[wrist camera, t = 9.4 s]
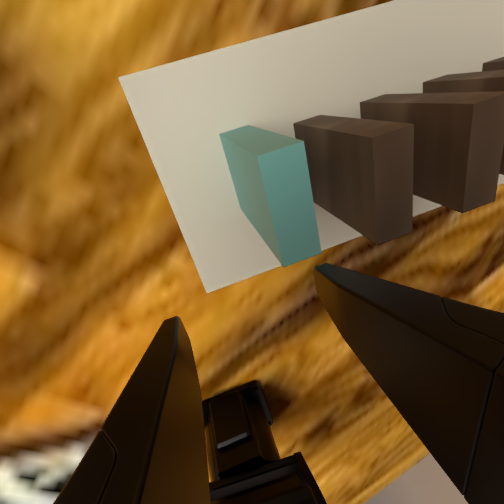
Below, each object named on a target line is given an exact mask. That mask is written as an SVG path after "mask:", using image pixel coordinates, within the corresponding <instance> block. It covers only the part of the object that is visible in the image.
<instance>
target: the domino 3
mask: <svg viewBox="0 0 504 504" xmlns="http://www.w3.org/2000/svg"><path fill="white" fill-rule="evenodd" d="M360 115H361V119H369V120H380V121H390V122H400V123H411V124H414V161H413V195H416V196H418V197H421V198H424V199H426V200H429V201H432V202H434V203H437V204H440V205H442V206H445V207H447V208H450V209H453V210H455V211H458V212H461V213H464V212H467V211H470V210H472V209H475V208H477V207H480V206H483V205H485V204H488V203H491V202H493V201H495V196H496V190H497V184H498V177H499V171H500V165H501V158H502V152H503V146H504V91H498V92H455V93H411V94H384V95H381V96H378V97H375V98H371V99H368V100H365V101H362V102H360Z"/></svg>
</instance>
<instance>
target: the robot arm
mask: <svg viewBox="0 0 504 504" xmlns="http://www.w3.org/2000/svg"><path fill="white" fill-rule="evenodd" d="M313 272H314V279H315V286H316V291H317V294H318V296H319V298H320V300H321V301H322V303H323V305H324V307H325V308H326V310H327V312H328V313H329V315H330V317H331V318H332V320H333V322H334V324H335V325H336V327H337V329H338V330H339V332H340V334H341V335H342V337H343V338H344V340H345V341H346V342H347V344H348V345H349V346H350V348H351V349H352V350H353V352H354V353H355V354H356V356H357V357H358V358H359V360H360V361H361V362H362V364H363V365H364V366H365V367H366V369H367V370H368V371H369V373H370V374H371V375H372V377H373V378H374V379H375V381H376V382H377V383H378V385H379V386H380V387H381V389H382V390H383V391H384V393H385V394H386V395H387V396H388V398H389V399H390V400H391V402H392V403H393V404H394V406H395V407H396V408H397V410H398V411H399V412H400V414H401V415H402V416H403V418H404V419H405V420H406V421H407V423H408V424H409V425H410V427H411V428H412V429H413V431H414V432H415V433H416V435H417V436H418V437H419V439H420V440H421V441H422V443H423V444H424V445H425V446H426V448H427V449H428V450H429V452H430V453H431V454H432V456H433V457H434V458H435V460H436V461H437V462H438V464H439V465H440V466H441V468H442V469H443V470H444V471H445V473H446V474H447V475H448V477H449V478H450V479H451V481H452V482H453V483H454V485H455V486H456V487H457V489H458V490H459V491H460V493H461V494H462V495H464V498H465V499H466V501H467V502H468V503H469V504H504V313H501V312H497V311H493V310H489V309H485V308H481V307H477V306H473V305H470V304H466V303H462V302H459V301H455V300H452V299H449V298H445V297H442V298H441V297H440V296H438V295H435V294H431V293H428V292H424V291H421V290H417V289H414V288H411V287H407V286H404V285H400V284H397V283H393V282H390V281H387V280H383V279H380V278H376V277H373V276H369V275H366V274H363V273H359V272H356V271H352V270H349V269H345V268H342V267H339V266H335V265H332V264H328V263H325V264H322V265H319V266H316V267H315V268H314V270H313ZM272 423H273V420H272V417H271V414H270V412H269V409H268V406H267V404H266V401H265V398H264V396H263V393H262V390H261V388H260V385H259V383H258V382H257V381H253V382H251V383H248V384H246V385H243V386H241V387H239V388H236V389H234V390H231V391H229V392H226V393H224V394H222V395H219V396H217V397H214V398H212V399H209V400H207V401H205V402H202V397H201V390H200V384H199V379H198V375H197V370H196V365H195V361H194V356H193V351H192V347H191V342H190V339H189V337H188V334H187V332H186V330H185V328H184V325H183V323H182V321H181V319H180V317H178V316H175V317H172V318H169V319H167V320H165V321H164V322H163V323H162V325H161V326H160V328H159V330H158V332H157V333H156V335H155V337H154V338H153V340H152V342H151V344H150V345H149V347H148V349H147V350H146V352H145V354H144V355H143V357H142V359H141V361H140V362H139V364H138V366H137V367H136V369H135V371H134V372H133V374H132V376H131V378H130V379H129V381H128V383H127V384H126V386H125V388H124V389H123V391H122V393H121V395H120V396H119V398H118V400H117V401H116V403H115V405H114V406H113V408H112V410H111V412H110V413H109V415H108V417H107V418H106V420H105V422H104V423H103V425H102V427H101V431H99V432H98V433H97V435H96V437H95V439H94V440H93V442H92V444H91V445H90V447H89V449H88V450H87V452H86V454H85V455H84V457H83V458H82V460H81V462H80V463H79V465H78V467H77V468H76V470H75V471H74V473H73V475H72V476H71V478H70V479H69V481H68V482H67V484H66V485H65V487H64V488H63V490H62V491H61V493H60V494H59V496H58V497H57V499H56V500H55V502H54V503H53V504H327V503H326V501H325V499H324V497H323V495H322V493H321V491H320V489H319V487H318V485H317V483H316V481H315V479H314V477H313V475H312V473H311V471H310V469H309V467H308V466H307V464H306V462H305V460H304V458H303V456H302V454H301V452H297V453H294V455H292V456H289V457H286V458H283V459H280V456H279V453H278V450H277V447H276V444H275V441H274V438H273V435H272V432H271V429H270V425H272ZM205 440H206V442H205ZM206 446H207V453H208V461H209V468H210V476H211V482H210V483H209V477H208V466H207V454H206Z"/></svg>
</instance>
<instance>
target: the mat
mask: <svg viewBox="0 0 504 504" xmlns="http://www.w3.org/2000/svg"><path fill="white" fill-rule="evenodd" d="M501 57H504V0H394V1H390V2H387V3H383V4H379V5H376V6H372V7H369V8H365V9H362V10H358V11H354V12H351V13H347V14H344V15H340V16H336V17H333V18H329V19H326V20H322V21H318V22H315V23H311V24H308V25H304V26H301V27H297V28H293V29H290V30H286V31H283V32H279V33H275V34H272V35H268V36H265V37H261V38H258V39H254V40H250V41H247V42H243V43H240V44H236V45H232V46H229V47H225V48H222V49H218V50H215V51H211V52H207V53H204V54H200V55H197V56H193V57H189V58H186V59H182V60H179V61H175V62H171V63H168V64H164V65H161V66H157V67H154V68H150V69H146V70H143V71H139V72H136V73H132V74H128V75H125V76H121V77H118V78H119V81H120V83H121V86H122V88H123V91H124V93H125V95H126V98H127V100H128V103H129V105H130V108H131V110H132V112H133V115H134V117H135V120H136V122H137V125H138V127H139V129H140V132H141V134H142V137H143V139H144V142H145V144H146V146H147V149H148V151H149V154H150V156H151V159H152V161H153V164H154V166H155V168H156V171H157V173H158V176H159V178H160V181H161V183H162V185H163V188H164V190H165V193H166V195H167V198H168V200H169V202H170V205H171V207H172V210H173V212H174V215H175V217H176V220H177V222H178V224H179V227H180V229H181V232H182V234H183V237H184V239H185V241H186V244H187V246H188V249H189V251H190V254H191V256H192V258H193V261H194V263H195V266H196V268H197V271H198V273H199V276H200V278H201V280H202V283H203V285H204V288H205V290H206V293H209V292H212V291H215V290H218V289H220V288H223V287H226V286H228V285H231V284H234V283H236V282H239V281H242V280H244V279H247V278H250V277H253V276H255V275H258V274H261V273H263V272H266V271H269V270H271V269H274V268H277V267H279V266H282V265H281V263H280V262H279V261H278V259H277V258H276V256H275V255H274V254H273V252H272V251H271V250H270V248H269V247H268V246H267V244H266V243H265V242H264V240H263V239H262V237H261V236H260V235H259V233H258V232H257V231H256V229H255V228H254V227H253V225H252V224H251V222H250V221H249V220H248V218H247V217H246V216H245V214H244V213H243V212H242V210H241V208H240V205H239V201H238V198H237V195H236V191H235V188H234V184H233V181H232V177H231V174H230V170H229V167H228V164H227V160H226V157H225V153H224V150H223V146H222V143H221V139H220V136H219V134H220V133H224V132H227V131H230V130H233V129H236V128H240V127H243V126H246V125H250V126H254V127H257V128H261V129H264V130H268V131H271V132H274V133H278V134H281V135H285V136H288V137H292V138H295V132H294V126H293V123H296V122H299V121H302V120H305V119H308V118H311V117H315V116H318V115H328V116H338V117H348V118H359V119H361V115H360V102H362V101H365V100H368V99H371V98H375V97H378V96H381V95H384V94H411V93H423V82H425V81H428V80H431V79H435V78H438V77H441V76H444V75H447V74H459V73H470V72H482V66H483V63H485V62H488V61H491V60H495V59H498V58H501ZM295 139H296V138H295ZM503 183H504V175H502V174H499V177H498V184H497V185H500V184H503ZM441 206H442V205H440V204H437V203H434V202H432V201H429V200H426V199H424V198H421V197H418V196H416V195H413V217H414V216H417V215H419V214H422V213H425V212H427V211H430V210H433V209H435V208H438V207H441ZM314 208H315V214H316V220H317V227H318V233H319V239H320V246H321V251H322V250H325V249H328V248H330V247H333V246H336V245H339V244H341V243H344V242H347V241H349V240H352V239H355V238H357V237H360V236H363V235H362V234H360V233H359V232H357V231H356V230H354V229H353V228H351V227H350V226H348V225H347V224H345V223H344V222H342V221H341V220H339V219H338V218H336V217H335V216H333V215H332V214H330V213H329V212H327V211H326V210H324V209H323V208H322V207H320V206H319V205H317V204H316V203H314Z"/></svg>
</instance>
